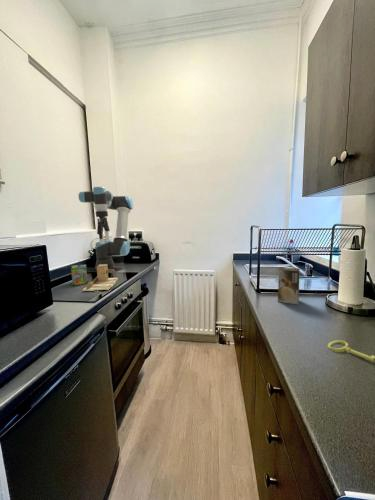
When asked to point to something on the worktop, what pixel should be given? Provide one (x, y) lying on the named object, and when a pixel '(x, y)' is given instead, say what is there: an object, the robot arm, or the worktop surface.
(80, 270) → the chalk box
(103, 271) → the marking gauge
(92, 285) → the guide board
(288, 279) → the coffee box
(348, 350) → the key
